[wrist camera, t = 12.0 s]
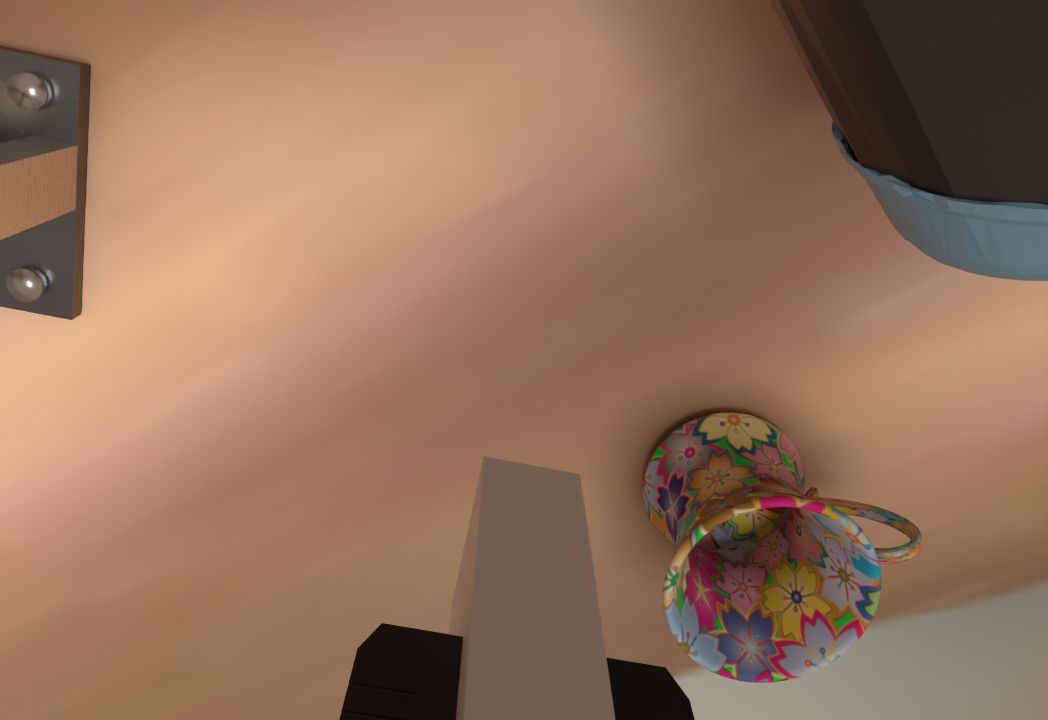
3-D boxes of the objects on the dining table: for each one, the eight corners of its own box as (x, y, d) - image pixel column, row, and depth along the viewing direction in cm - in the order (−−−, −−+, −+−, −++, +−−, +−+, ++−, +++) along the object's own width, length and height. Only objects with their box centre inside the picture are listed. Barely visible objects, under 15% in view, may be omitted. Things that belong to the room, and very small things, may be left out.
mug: (644, 564, 50) (677, 698, 40) (621, 414, 46) (650, 519, 36) (860, 530, 49) (949, 658, 39) (852, 375, 46) (946, 471, 36)
